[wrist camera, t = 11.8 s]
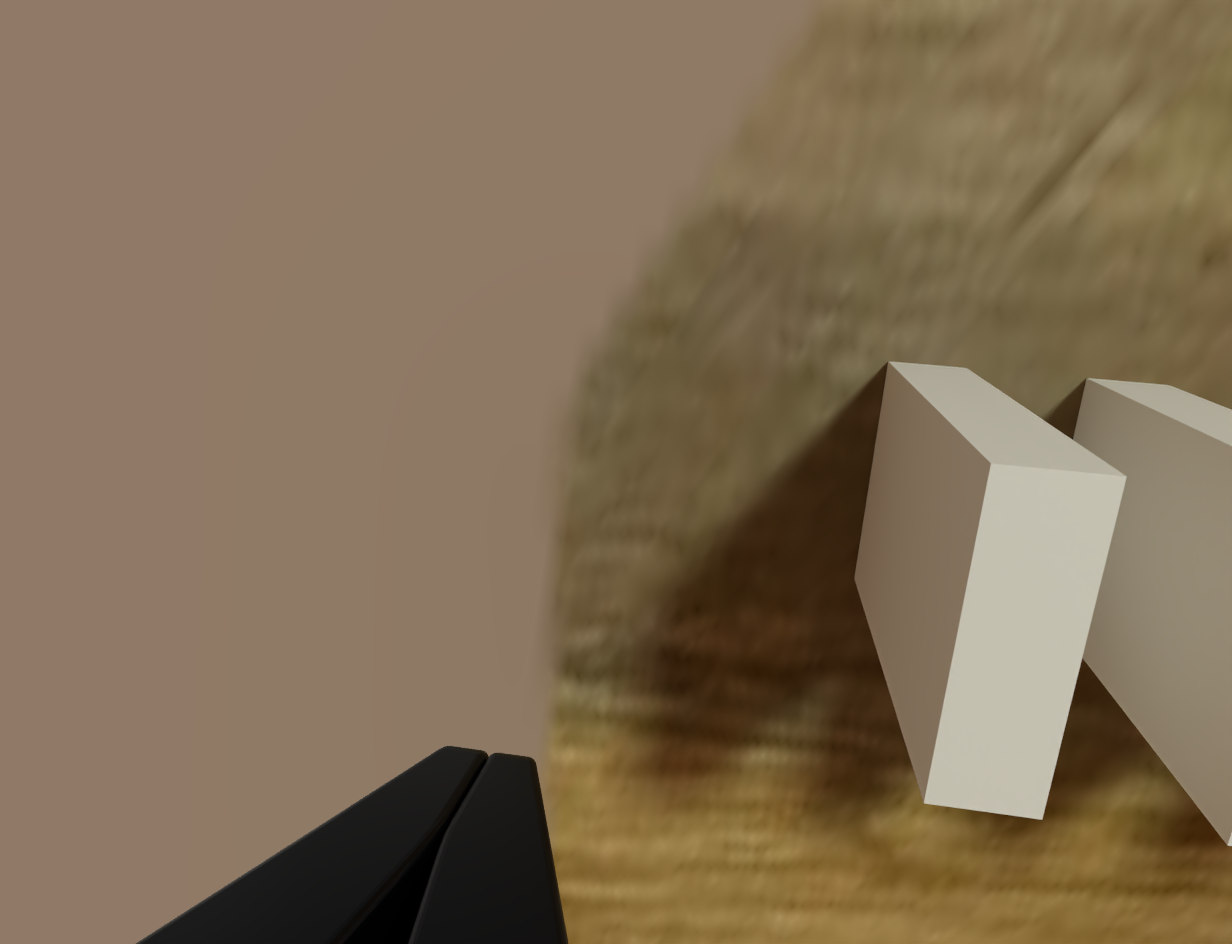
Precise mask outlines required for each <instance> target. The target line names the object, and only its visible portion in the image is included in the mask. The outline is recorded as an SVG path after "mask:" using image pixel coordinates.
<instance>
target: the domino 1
mask: <svg viewBox="0 0 1232 944" xmlns="http://www.w3.org/2000/svg"><path fill="white" fill-rule="evenodd" d="M1126 478H1127V476H1125V475H1124V474H1122V473H1121V472H1119V471H1118V470H1116V469H1115V468H1114V467H1112V466H1111V465H1109V464H1108V463H1106V462H1105V461H1103V460H1102V459H1100V458H1099V457H1097V456H1096V455H1094V454H1093V453H1091V452H1090V451H1088V450H1087V449H1085V448H1084V447H1082V446H1081V445H1080V444H1078V443H1077V442H1075V441H1074V440H1072V439H1071V438H1069V437H1068V436H1066V435H1065V434H1063V433H1062V432H1060V431H1059V430H1057V429H1056V428H1054V427H1053V426H1051V425H1050V424H1048V423H1047V422H1046V421H1044V420H1043V419H1041V418H1040V417H1038V416H1037V415H1035V414H1034V413H1032V412H1031V411H1029V410H1028V409H1026V408H1025V407H1023V406H1022V405H1020V404H1019V403H1017V402H1016V401H1014V400H1013V399H1011V398H1010V397H1009V396H1007V395H1006V394H1004V393H1003V392H1001V391H1000V390H998V389H997V388H995V387H994V386H992V385H991V384H989V383H988V382H986V381H985V380H983V379H982V378H980V377H979V376H977V375H976V374H975V373H973V372H972V371H970V370H969V369H967V368H960V367H948V366H937V365H925V364H913V363H901V362H889V361H888V366H887V373H886V379H885V385H884V392H883V398H882V405H881V411H880V417H879V424H878V430H877V436H876V443H875V449H874V456H873V462H872V468H871V475H870V481H869V488H868V494H867V500H866V507H865V513H864V520H863V526H862V532H861V539H860V545H859V552H858V558H857V564H856V571H855V577H854V579H855V582H856V586H857V589H858V592H859V595H860V599H861V602H862V605H863V608H864V612H865V615H866V618H867V621H868V625H869V628H870V631H871V634H872V637H873V641H874V644H875V647H876V650H877V654H878V657H879V660H880V663H881V667H882V670H883V673H884V676H885V679H886V683H887V686H888V689H889V692H890V696H891V699H892V702H893V705H894V709H895V712H896V715H897V718H898V721H899V725H900V728H901V731H902V734H903V738H904V741H905V744H906V747H907V751H908V754H909V757H910V760H911V763H912V767H913V770H914V773H915V776H916V780H917V783H918V786H919V789H920V793H921V796H922V799H923V802H924V803H926V804H933V805H940V806H948V807H955V808H962V809H969V810H976V811H983V812H990V813H997V814H1005V815H1012V816H1019V817H1026V818H1033V819H1040V820H1042V819H1043V815H1044V811H1045V807H1046V803H1047V799H1048V795H1049V791H1050V787H1051V782H1052V778H1053V774H1054V770H1055V766H1056V762H1057V758H1058V754H1059V750H1060V746H1061V742H1062V738H1063V734H1064V730H1065V726H1066V722H1067V717H1068V713H1069V709H1070V705H1071V701H1072V697H1073V693H1074V689H1075V685H1076V681H1077V677H1078V673H1079V669H1080V665H1081V661H1082V657H1083V653H1084V648H1085V644H1086V640H1087V636H1088V632H1089V628H1090V624H1091V620H1092V616H1093V612H1094V608H1095V604H1096V600H1097V596H1098V592H1099V588H1100V584H1101V579H1102V575H1103V571H1104V567H1105V563H1106V559H1107V555H1108V551H1109V547H1110V543H1111V539H1112V535H1113V531H1114V527H1115V523H1116V519H1117V515H1118V510H1119V506H1120V502H1121V498H1122V494H1123V490H1124V486H1125V482H1126Z"/></svg>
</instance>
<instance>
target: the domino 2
mask: <svg viewBox="0 0 1232 944" xmlns="http://www.w3.org/2000/svg"><path fill="white" fill-rule="evenodd" d="M1073 440H1074V441H1075V442H1077V443H1078V444H1080V445H1081V446H1082V447H1084V448H1085V449H1087V450H1088V451H1090V452H1091V453H1093V454H1094V455H1096V456H1097V457H1099V458H1100V459H1102V460H1103V461H1105V462H1106V463H1108V464H1109V465H1111V466H1112V467H1114V468H1115V469H1116V470H1118V471H1119V472H1121V473H1122V474H1124V475H1125V476H1127V478H1126V482H1125V486H1124V490H1123V494H1122V498H1121V502H1120V506H1119V510H1118V515H1117V519H1116V523H1115V527H1114V531H1113V535H1112V539H1111V543H1110V547H1109V551H1108V555H1107V559H1106V563H1105V567H1104V571H1103V575H1102V579H1101V584H1100V588H1099V592H1098V596H1097V600H1096V604H1095V608H1094V612H1093V616H1092V620H1091V624H1090V628H1089V632H1088V636H1087V640H1086V644H1085V648H1084V653H1083V657H1082V658H1083V659H1084V661H1085V662H1086V663H1087V664H1088V666H1089V667H1090V668H1091V670H1092V671H1093V672H1094V674H1095V675H1096V676H1097V677H1098V679H1099V680H1100V681H1101V683H1102V684H1103V685H1104V686H1105V688H1106V689H1107V690H1108V692H1109V693H1110V694H1111V696H1112V697H1113V698H1114V699H1115V701H1116V702H1117V703H1118V705H1119V706H1120V707H1121V708H1122V710H1123V711H1124V712H1125V714H1126V715H1127V716H1128V718H1129V719H1130V720H1131V721H1132V723H1133V724H1134V725H1135V727H1136V728H1137V729H1138V730H1139V732H1140V733H1141V734H1142V736H1143V737H1144V738H1145V739H1146V741H1147V742H1148V743H1149V745H1150V746H1151V747H1152V749H1153V750H1154V751H1155V752H1156V754H1157V755H1158V756H1159V758H1160V759H1161V760H1162V761H1163V763H1164V764H1165V765H1166V767H1167V768H1168V769H1169V771H1170V772H1171V773H1172V774H1173V776H1174V777H1175V778H1176V780H1177V781H1178V782H1179V783H1180V785H1181V786H1182V787H1183V789H1184V790H1185V791H1186V793H1187V794H1188V795H1189V796H1190V798H1191V799H1192V800H1193V802H1194V803H1195V804H1196V805H1197V807H1198V808H1199V809H1200V811H1201V812H1202V813H1203V815H1204V816H1205V817H1206V818H1207V820H1208V821H1209V822H1210V824H1211V825H1212V826H1213V827H1214V829H1215V830H1216V831H1217V833H1218V834H1219V835H1220V837H1221V838H1222V839H1223V840H1224V842H1225V843H1226V844H1227V846H1232V410H1231V409H1228V408H1226V407H1223V406H1221V405H1218V404H1215V403H1213V402H1210V401H1208V400H1205V399H1203V398H1200V397H1198V396H1195V395H1193V394H1190V393H1187V392H1185V391H1182V390H1180V389H1177V388H1175V387H1172V386H1170V385H1161V384H1150V383H1138V382H1126V381H1114V380H1102V379H1090V378H1087V379H1086V383H1085V387H1084V392H1083V396H1082V401H1081V405H1080V410H1079V414H1078V419H1077V423H1076V428H1075V432H1074V437H1073Z"/></svg>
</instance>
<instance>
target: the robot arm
mask: <svg viewBox="0 0 1232 944" xmlns="http://www.w3.org/2000/svg"><path fill="white" fill-rule="evenodd" d="M136 944H568V939H567V933H566V927H565V922H564V916H563V911H562V905H561V900H560V894H559V888H558V883H557V877H556V872H555V866H554V861H553V855H552V849H551V844H550V838H549V833H548V827H547V822H546V816H545V810H544V805H543V799H542V794H541V788H540V783H539V777H538V771H537V766H536V762H535V761H534V759H532V758H530V757H525V756H519V755H511V754H503V753H494V754H492V755H490V756H488V754H487V753H486V752H485V751H482V750H475V749H468V748H461V747H453V746H446V747H443V748H441V749H439V750H437V751H436V752H434V753H433V754H431V755H430V756H428V757H426V758H425V759H423V760H422V761H420V762H419V763H417V764H415V765H414V766H412V767H411V768H409V769H408V770H406V771H404V772H403V773H402V774H400V775H398V776H397V777H395V778H394V779H392V780H390V781H389V782H387V783H386V784H384V785H383V786H381V787H379V788H378V789H376V790H375V791H373V792H372V793H370V794H369V795H367V796H365V797H364V798H363V799H361V800H359V801H358V802H356V803H355V804H353V805H351V806H350V807H348V808H347V809H345V810H344V811H342V812H340V813H339V814H338V815H336V816H334V817H333V818H331V819H330V820H328V821H326V822H325V823H323V824H322V825H320V826H319V827H317V828H316V829H314V830H312V831H311V832H309V833H308V834H306V835H305V836H303V837H302V838H300V839H298V840H297V841H295V842H294V843H292V844H291V845H289V846H287V847H286V848H284V849H283V850H281V851H280V852H278V853H276V854H275V855H273V856H272V857H270V858H269V859H267V860H266V861H264V862H263V863H261V864H259V865H258V866H256V867H255V868H253V869H252V870H250V871H248V872H247V873H245V874H244V875H242V876H241V877H239V878H237V879H236V880H235V881H233V882H231V883H230V884H228V885H227V886H225V887H223V888H222V889H220V890H219V891H217V892H216V893H214V894H212V895H211V896H209V897H208V898H206V899H205V900H203V901H202V902H200V903H199V904H197V905H196V906H194V907H192V908H191V909H189V910H188V911H186V912H184V913H183V914H181V915H180V916H178V917H177V918H175V919H173V920H172V921H170V922H169V923H167V924H166V925H164V926H163V927H161V928H160V929H158V930H156V931H155V932H154V933H152V934H150V935H148V936H147V937H145V938H144V939H142V940H141V941H139V942H138V943H136Z"/></svg>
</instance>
